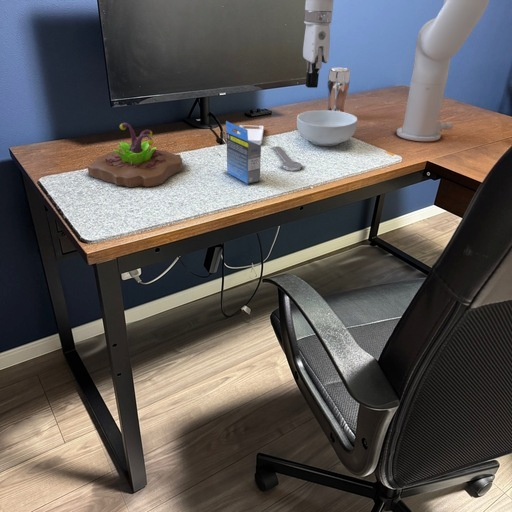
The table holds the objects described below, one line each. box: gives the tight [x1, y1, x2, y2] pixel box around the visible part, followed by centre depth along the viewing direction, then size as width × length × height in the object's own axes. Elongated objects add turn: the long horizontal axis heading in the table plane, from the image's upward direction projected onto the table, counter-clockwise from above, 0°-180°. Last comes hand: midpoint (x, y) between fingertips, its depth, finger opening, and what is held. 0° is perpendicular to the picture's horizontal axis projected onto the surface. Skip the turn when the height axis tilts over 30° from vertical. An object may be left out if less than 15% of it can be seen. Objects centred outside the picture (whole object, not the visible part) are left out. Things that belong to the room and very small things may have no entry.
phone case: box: [236, 124, 265, 146], centre depth 140 cm, size 7×1×15 cm
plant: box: [87, 122, 183, 188], centre depth 112 cm, size 20×20×11 cm
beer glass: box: [326, 66, 351, 112], centre depth 159 cm, size 7×7×15 cm
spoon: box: [273, 146, 302, 172], centre depth 125 cm, size 5×17×1 cm, turn 12°
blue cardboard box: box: [225, 120, 262, 185], centre depth 110 cm, size 9×4×12 cm, turn 35°
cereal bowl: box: [296, 109, 358, 147], centre depth 136 cm, size 17×17×7 cm
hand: (311, 86), depth 144 cm, fingers closed
